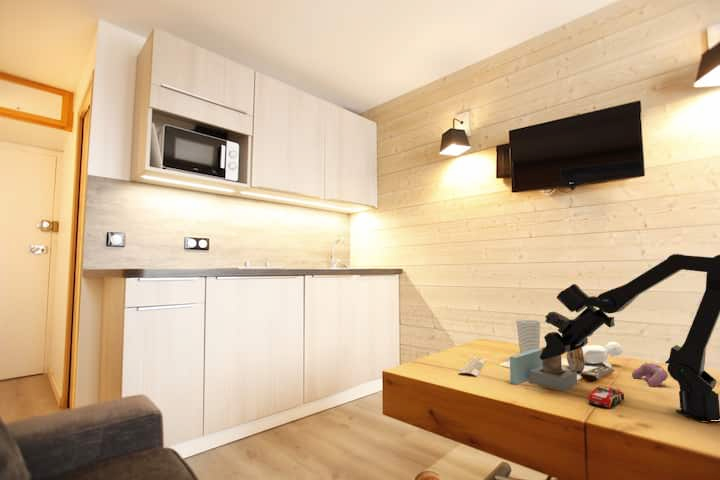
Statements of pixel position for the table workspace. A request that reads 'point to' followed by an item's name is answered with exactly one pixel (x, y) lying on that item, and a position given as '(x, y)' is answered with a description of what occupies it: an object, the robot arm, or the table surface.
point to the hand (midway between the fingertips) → (547, 356)
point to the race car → (605, 397)
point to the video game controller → (651, 374)
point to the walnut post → (552, 365)
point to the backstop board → (524, 365)
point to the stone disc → (576, 359)
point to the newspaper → (473, 366)
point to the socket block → (553, 379)
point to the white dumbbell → (601, 353)
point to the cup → (528, 334)
